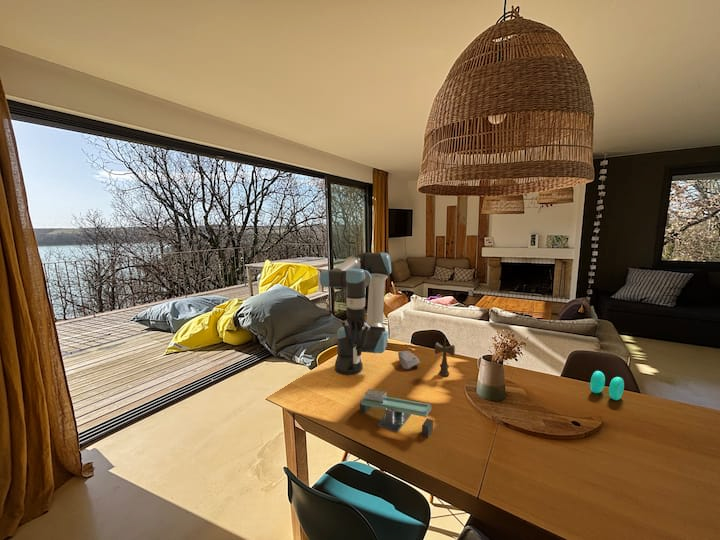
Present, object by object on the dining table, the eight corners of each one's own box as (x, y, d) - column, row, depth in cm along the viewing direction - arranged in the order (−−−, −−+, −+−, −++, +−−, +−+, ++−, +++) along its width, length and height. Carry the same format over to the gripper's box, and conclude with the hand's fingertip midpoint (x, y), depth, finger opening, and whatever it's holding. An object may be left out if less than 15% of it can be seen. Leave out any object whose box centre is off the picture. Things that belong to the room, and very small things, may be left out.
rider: (370, 397, 126) (369, 389, 126) (387, 400, 122) (386, 391, 122) (366, 401, 123) (365, 393, 123) (383, 404, 119) (382, 395, 119)
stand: (371, 401, 132) (370, 386, 131) (436, 424, 116) (436, 407, 116) (354, 417, 122) (354, 401, 121) (424, 444, 106) (424, 426, 105)
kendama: (435, 370, 160) (436, 334, 157) (454, 373, 156) (455, 336, 153) (433, 375, 154) (434, 338, 152) (453, 378, 151) (454, 340, 148)
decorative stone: (422, 368, 163) (422, 358, 162) (406, 371, 160) (406, 360, 159) (410, 358, 175) (410, 349, 174) (395, 361, 172) (395, 351, 171)
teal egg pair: (616, 404, 127) (619, 382, 126) (588, 394, 135) (590, 373, 134) (623, 396, 133) (626, 375, 132) (596, 387, 141) (598, 367, 140)
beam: (369, 397, 129) (368, 393, 129) (432, 408, 113) (431, 403, 113) (360, 404, 123) (360, 400, 123) (425, 417, 108) (425, 412, 108)
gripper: (337, 307, 123) (338, 362, 126) (364, 311, 116) (365, 369, 119) (348, 303, 129) (349, 355, 132) (374, 307, 122) (374, 362, 125)
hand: (356, 362), depth 125 cm, fingers closed
